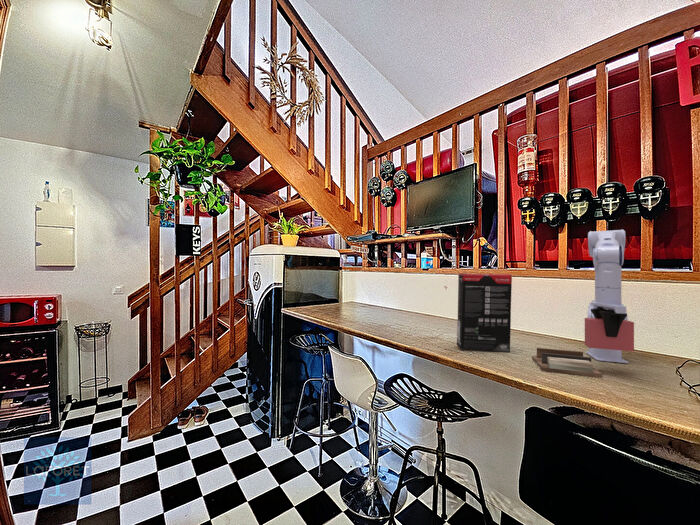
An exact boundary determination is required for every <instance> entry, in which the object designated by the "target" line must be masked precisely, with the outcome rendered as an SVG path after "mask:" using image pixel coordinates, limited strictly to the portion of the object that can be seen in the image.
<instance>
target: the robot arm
mask: <svg viewBox="0 0 700 525" xmlns="http://www.w3.org/2000/svg"><path fill="white" fill-rule="evenodd" d="M626 237H627V236H626V230H624V229H614V230H598V231H597V230H596V231H595V230H594V231H592V230H589V232H587V247H588V254H589V257H591V258H592V263H593V269H594V272H595V273H594V300H592V301H590V302H589V306H587V317H586V318H598V319H603V321H604V326H605V333H606V336H607V337H617V335H618V332H619V329H620V326H621V324H622V322H623V321H624V320H628V321H629V319H628V313H627V306H626V305H624V304H622V266H623V265H624V261H625V260H624V259H625V254H624V253H625V246H626V240H627V239H626ZM622 352H623V351H622V350H610V349H598V348H589V347H588V350H587V351H585V354H587V355H588V356H590V357H591V358H593V359H595V361H601V362H609V363H610V362H611V363H621V364H629V361H628V360H625V359H624V358H623V354H622Z"/></svg>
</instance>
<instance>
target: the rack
mask: <svg viewBox="0 0 700 525" xmlns="http://www.w3.org/2000/svg"><path fill="white" fill-rule="evenodd" d="M531 357H532V358H531V359H532V361H533V362H534V361H535V362H536V363H537V364H536V363H535V362H534V363H535V364H536V365H537V366H539V367H540V368H539V367H538V368H539V369H540V370H541V371H542V372H546V373H555V374H563V375H574V376H575V375H576V376H580V377H581V376H582V377H583V376H584V377H591V378H593V377H594V378H601V379H602V378H604V376H603V375H604V374H603V373H601V371H599V370H598V369H597V368H595V367H594V364H593V362H592V356H590V357H589V356H584V352H583V351H578V350H577V351H576V350H567V349H566V350H565V349H555V348H553V349H552V348H544V347H536V355H531Z"/></svg>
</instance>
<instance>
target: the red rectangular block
mask: <svg viewBox="0 0 700 525" xmlns="http://www.w3.org/2000/svg"><path fill="white" fill-rule="evenodd" d="M584 345H585V346H586V347H588V349H589V348H598V349H610V350H622V352H623V351H624V352H635V321H631V320H629V319H628V320H624V321H623V322H622V324H621V326H620V329H619V332H618V335H617V337H607V336H606V333H605V326H604V321H603V319H598V318H587V317H585V318H584Z"/></svg>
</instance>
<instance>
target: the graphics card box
mask: <svg viewBox="0 0 700 525" xmlns="http://www.w3.org/2000/svg"><path fill="white" fill-rule="evenodd" d="M512 279H513V276H512V274H509V273H507V274H503V273H501V274H500V273H458V286H457V287H458V288H457V292H458V293H457V324H456V325H457V331H456V345H457V346H458V347H459V349H461V350H462V351H463V350H467V351H480V352H481V351H484V352H487V351H488V352H502V353H510V352H511V331H512V330H511V328H512V327H511V321H512V320H511V319H512V318H511V317H512V316H511V315H512V313H511V312H512V282H513V280H512Z"/></svg>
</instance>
